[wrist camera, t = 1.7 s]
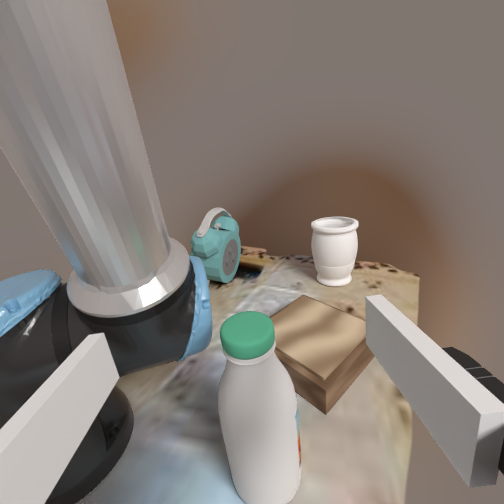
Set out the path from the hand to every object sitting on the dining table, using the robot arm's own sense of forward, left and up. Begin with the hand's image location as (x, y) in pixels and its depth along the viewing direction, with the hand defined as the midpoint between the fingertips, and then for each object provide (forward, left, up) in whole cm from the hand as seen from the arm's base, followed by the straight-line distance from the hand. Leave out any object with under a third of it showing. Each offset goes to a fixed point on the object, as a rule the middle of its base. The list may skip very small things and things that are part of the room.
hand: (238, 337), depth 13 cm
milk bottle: (-6, +5, -25) cm, 26 cm away
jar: (-24, +47, -25) cm, 58 cm away
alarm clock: (-48, +29, -25) cm, 61 cm away
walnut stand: (-13, +23, -25) cm, 36 cm away
